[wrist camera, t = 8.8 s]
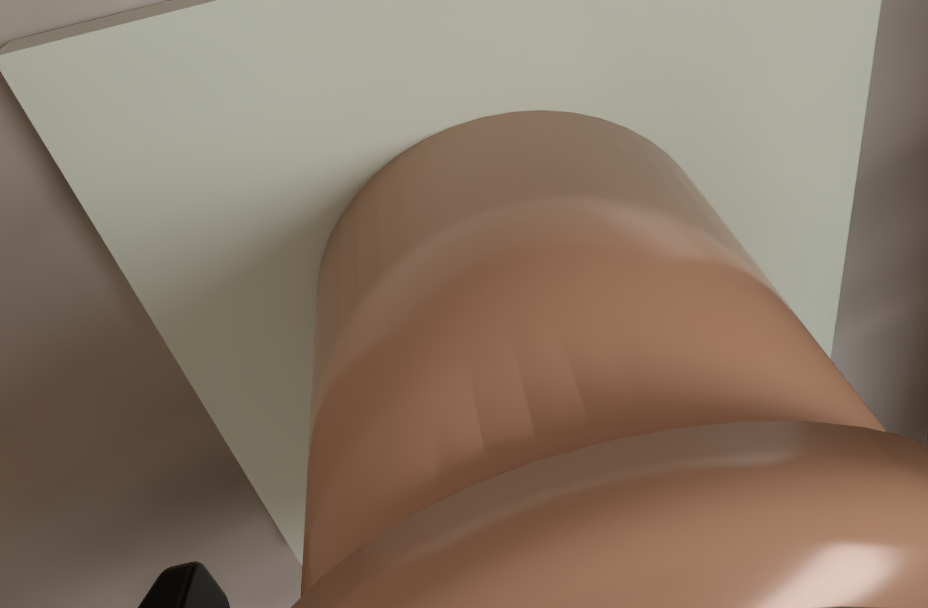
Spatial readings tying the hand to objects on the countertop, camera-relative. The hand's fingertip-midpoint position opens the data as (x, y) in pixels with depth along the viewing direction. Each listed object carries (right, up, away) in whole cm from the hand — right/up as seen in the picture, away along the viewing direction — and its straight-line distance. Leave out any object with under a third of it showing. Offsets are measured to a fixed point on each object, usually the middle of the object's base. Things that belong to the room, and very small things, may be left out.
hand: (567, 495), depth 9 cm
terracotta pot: (0, +2, +3) cm, 4 cm away
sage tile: (0, +3, +4) cm, 5 cm away
